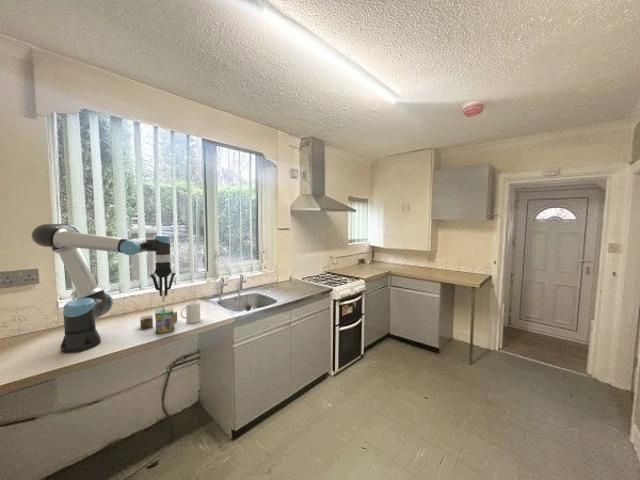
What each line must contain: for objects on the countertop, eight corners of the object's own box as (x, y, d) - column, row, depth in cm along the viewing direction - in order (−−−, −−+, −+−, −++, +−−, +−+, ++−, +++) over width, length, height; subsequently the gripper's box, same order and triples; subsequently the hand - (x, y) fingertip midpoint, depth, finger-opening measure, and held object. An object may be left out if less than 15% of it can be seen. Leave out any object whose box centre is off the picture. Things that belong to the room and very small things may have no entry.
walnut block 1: (140, 329, 154) (140, 319, 153) (141, 326, 159) (140, 316, 159) (152, 327, 157) (152, 317, 157) (152, 324, 162) (152, 314, 162)
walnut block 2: (162, 324, 162) (162, 314, 162) (167, 321, 168) (167, 311, 168) (173, 324, 163) (172, 314, 162) (177, 320, 169) (176, 311, 168)
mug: (182, 326, 160) (182, 306, 159) (178, 322, 166) (178, 303, 165) (202, 321, 168) (202, 302, 167) (198, 317, 174) (197, 300, 173)
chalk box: (174, 331, 152) (173, 306, 151) (155, 334, 148) (154, 308, 147) (173, 325, 160) (173, 302, 159) (156, 328, 155) (155, 304, 155)
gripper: (148, 262, 145) (149, 304, 147) (174, 262, 150) (175, 302, 152) (151, 261, 152) (152, 300, 154) (176, 260, 157) (177, 298, 159)
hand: (163, 301), depth 153 cm, fingers closed
